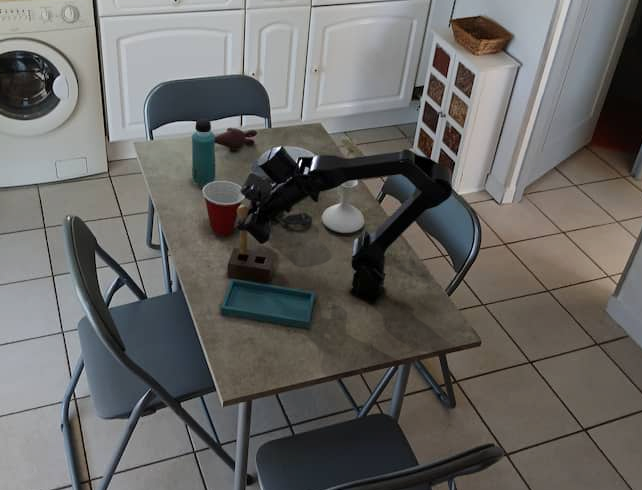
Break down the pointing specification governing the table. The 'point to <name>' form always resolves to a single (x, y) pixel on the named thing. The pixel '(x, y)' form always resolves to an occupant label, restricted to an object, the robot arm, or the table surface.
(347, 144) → the flower in vase
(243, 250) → the tan round-headed peg
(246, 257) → the slotted brown holder
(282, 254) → the table surface
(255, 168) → the milk frother
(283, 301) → the tray
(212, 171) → the beverage bottle
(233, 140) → the brown stuffed toy
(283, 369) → the table surface
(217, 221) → the plastic cup
